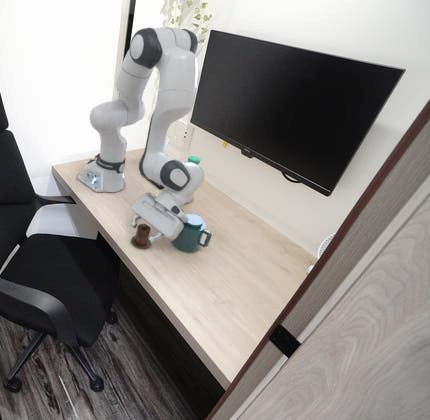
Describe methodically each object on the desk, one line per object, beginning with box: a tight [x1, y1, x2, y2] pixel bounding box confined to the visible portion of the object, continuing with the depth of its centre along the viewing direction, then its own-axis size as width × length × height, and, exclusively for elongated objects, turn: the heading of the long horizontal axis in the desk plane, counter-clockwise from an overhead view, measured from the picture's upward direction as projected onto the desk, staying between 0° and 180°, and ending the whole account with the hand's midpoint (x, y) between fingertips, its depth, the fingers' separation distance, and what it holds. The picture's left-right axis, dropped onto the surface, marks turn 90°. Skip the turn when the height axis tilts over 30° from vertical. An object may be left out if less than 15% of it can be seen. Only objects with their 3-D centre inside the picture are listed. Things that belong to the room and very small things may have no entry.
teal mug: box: [171, 213, 213, 254], centre depth 114 cm, size 12×9×12 cm
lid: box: [130, 223, 152, 250], centre depth 115 cm, size 7×7×9 cm
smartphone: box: [149, 180, 164, 190], centre depth 154 cm, size 8×1×15 cm
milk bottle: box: [184, 155, 201, 204], centre depth 136 cm, size 8×8×20 cm
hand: (141, 234), depth 115 cm, fingers open, 8 cm apart
